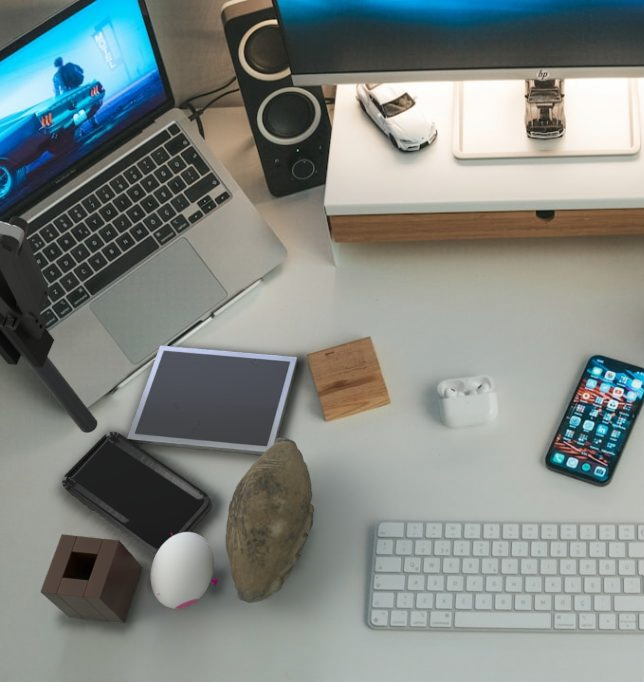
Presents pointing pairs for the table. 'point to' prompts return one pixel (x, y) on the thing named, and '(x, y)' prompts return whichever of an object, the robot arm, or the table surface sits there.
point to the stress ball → (182, 570)
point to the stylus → (60, 390)
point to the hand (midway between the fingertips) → (31, 351)
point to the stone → (269, 521)
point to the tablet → (214, 400)
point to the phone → (136, 492)
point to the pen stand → (92, 578)
